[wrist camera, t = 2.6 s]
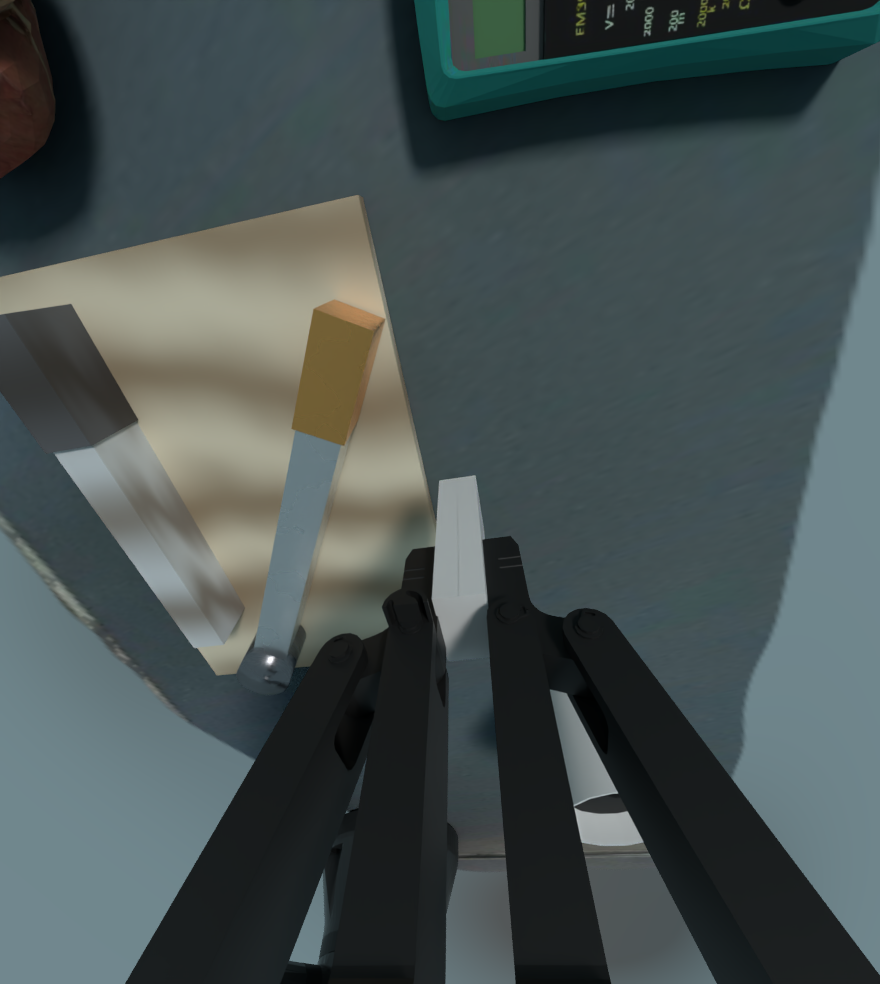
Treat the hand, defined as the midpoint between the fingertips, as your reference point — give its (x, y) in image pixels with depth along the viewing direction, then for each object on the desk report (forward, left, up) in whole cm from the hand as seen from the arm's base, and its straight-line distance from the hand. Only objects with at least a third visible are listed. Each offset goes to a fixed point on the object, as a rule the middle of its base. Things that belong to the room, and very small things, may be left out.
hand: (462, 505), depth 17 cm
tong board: (-2, +12, -6) cm, 13 cm away
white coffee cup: (-19, -6, -6) cm, 21 cm away
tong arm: (-2, +9, -5) cm, 10 cm away
